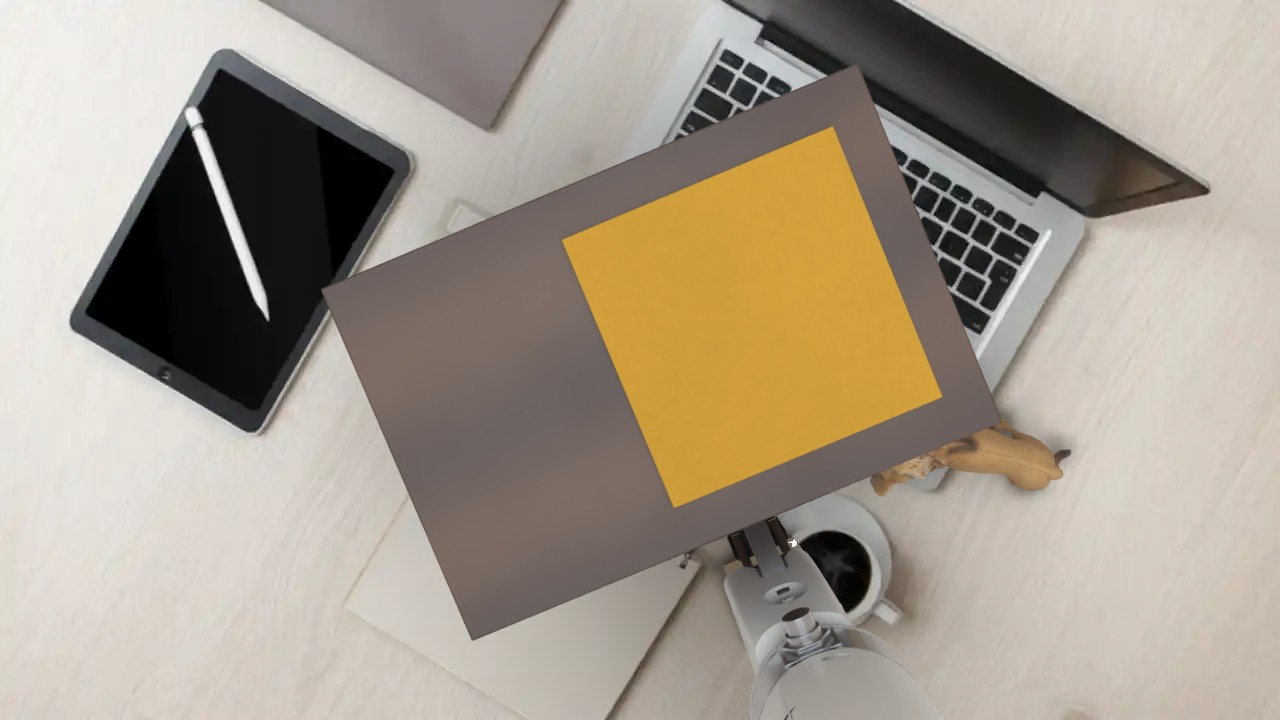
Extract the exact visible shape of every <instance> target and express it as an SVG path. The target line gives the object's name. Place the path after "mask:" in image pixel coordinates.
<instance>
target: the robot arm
mask: <svg viewBox="0 0 1280 720" xmlns="http://www.w3.org/2000/svg"><path fill="white" fill-rule="evenodd" d="M726 538H727V541H728V544H729V547H730V549H731V551H732V554H733V556H734V558H735V561H736V560H739V561H741V562H742V564H743V567H740V568H738V569H736V570H734V571H732V572H730V573H729V574H727V575H726V576H725V578H724V580H723V589H724V591H725V595H726V597H727V599H728V602H729V605H730V607H731V610H732V613H733V616H734V619H735V622H736V625H737V627H738V630H739V632H740V636H741V638H742V641H743V644H744V647H745V650H746V653H747V656H748V658H749V661H750V664H751V667H752V669H753V673H754V678H753V679H754V680H753V682H752V686H751V688H750V696H749V716H750V720H945V718H944V717H943V715H942V714H941V712H940V711H939V710H938V708H937V707H936V705H935V704H934V703H933V701H932V700H931V699H930V697H929V696H928V695H927V693H926V691H925V690H924V689H923V687H922V685H920V683H919V682H918V681H917V679H916V678H915V677H914V675H913V674H912V672H911V671H910V669H909V668H908V667H907V665H906V664H905V662H904V661H903V660H902V659H901V657H900V655H899V654H898V653H897V652H896V651H895V650H894V648H893V647H892V646H890V645H889V644H888V642H886V641H885V640H884V639H882V638H881V637H879V636H878V635H876V634H874V633H872V632H870V631H869V630H867V629H864V628H861V627H858V626H854V625H853V623H852V622H851V621H852V620H851V619H850V618H849V616H848V615H847V612H846V611H845V609H844V607H843V604H842V603H840V601H839V599H838V597H837V596H836V594H835V593H834V591H833V590H832V588H831V586H830V584H829V583H828V581H827V580H826V578H825V577H824V575H823V574H822V572H821V571H820V569H819V567H818V566H817V564H816V563H815V561H814V560H813V558H812V557H811V556H810V554H809V553H808V552H806V551H805V550H804V549H803V550H801V549H799V548H795V547H792V549H793V550H791V549H790V547H789V544H788V542H787V539H789V538H790V537H789V535H788V532H787V530H786V528H785V526H784V525H783V524H782V522H781V520H780V518H779V517H778V515H776V516H774V517H771V518H769V519H767V520H764V521H762V522H759V523H757V524H755V525H752V526H750V527H747V528H745V529H742V530H740V531H738V532H735V533H733V534H730V535H728V536H726ZM777 546H778V547H779V549H780V551H781V553H782V555H780V554H779V552H778V549H777ZM753 556H755V558H756V560H757V563H758V565H755V566H753V564H752V562H751V560H750V557H753Z"/></svg>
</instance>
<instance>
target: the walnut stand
mask: <svg viewBox="0 0 1280 720" xmlns="http://www.w3.org/2000/svg"><path fill="white" fill-rule="evenodd" d="M879 115H880V114H879V113H878V110H877V108H876V105H875V102H874V99H873V97H872V94H871V92H870V90H869V88H868V85H867V83H866V81H865V78H864V75H863V73H862V71H861V68H860V66H859V64H858V63H855V64H852V65H851V66H848V67H845V68H843V69H840V70H838V71H836V72H834V73H831V74H829V75H827V76H824V77H822V78H819V79H817V80H814V81H812V82H810V83H807V84H805V85H802V86H801V87H798V88H796V89H794V90H791V91H788V92H786V93H784V94H781V95H779V96H776V97H774V98H771V99H770V100H767V101H765V102H763V103H759V104H758V105H755V106H753V107H751V108H748V109H746V110H744V111H741V112H739V113H736V114H734V115H731V116H728V117H727V118H724V119H722V120H719V121H717V122H715V123H713V124H710V125H708V126H705V127H703V128H701V129H700V128H699V129H698V130H696V131H693V132H690V133H689V134H686V135H683V136H681V137H679V138H676V139H674V140H672V141H669V142H667V143H665V144H662V145H660V146H658V147H655V148H653V149H650V150H648V151H645V152H643V153H641V154H638V155H636V156H634V157H631V158H629V159H627V160H624V161H622V162H619V163H617V164H615V165H612V166H610V167H608V168H605V169H602V170H600V171H598V172H596V173H593V174H591V175H588V176H586V177H584V178H582V179H579V180H577V181H575V182H572V183H570V184H567V185H564V186H563V187H560V188H558V189H555V190H553V191H551V192H548V193H546V194H543V195H541V196H538V197H537V198H534V199H532V200H529V201H527V202H524V203H522V204H520V205H517V206H515V207H512V208H511V209H508V210H505V211H503V212H501V213H498V214H495V215H493V216H491V217H489V218H487V219H484V220H481V221H479V222H476V223H474V224H472V225H470V226H468V227H465V228H462V229H460V230H457V231H455V232H453V233H451V234H449V235H446V236H443V237H441V238H439V239H436V240H434V241H431V242H430V243H427V244H424V245H422V246H420V247H417V248H414V249H412V250H410V251H408V252H406V253H403V254H400V255H398V256H396V257H394V258H391V259H389V260H386V261H384V262H382V263H380V264H377V265H375V266H372V267H370V268H367V269H365V270H363V271H360V272H357V273H355V274H352V275H351V276H348V277H346V278H344V279H341V280H339V281H337V282H334V283H332V284H329V285H327V286H324V287H322V288H321V289H320V291H321V293H322V297H323V298H324V301H325V304H326V305H327V308H328V310H329V313H330V314H331V317H332V319H333V321H334V324H335V325H336V328H337V331H338V333H339V336H340V338H341V340H342V342H343V344H344V347H345V349H346V353H347V354H348V357H349V359H350V361H351V364H352V367H353V368H354V371H355V372H356V375H357V377H358V381H359V383H360V385H361V387H362V389H363V392H364V393H365V396H366V398H367V400H368V403H369V405H370V407H371V410H372V412H373V415H374V417H375V419H376V421H377V424H378V426H379V429H380V431H381V434H382V435H383V438H384V440H385V442H386V444H387V447H388V449H389V452H390V454H391V456H392V459H393V461H394V464H395V466H396V468H397V471H398V473H399V475H400V478H401V480H402V483H403V484H404V487H405V488H406V492H407V494H408V496H409V498H410V501H411V503H412V505H413V508H414V511H415V512H416V515H417V517H418V519H419V521H420V524H421V526H422V528H423V531H424V534H425V536H426V538H427V540H428V543H429V545H430V547H431V550H432V552H433V555H434V557H435V559H436V561H437V563H438V566H439V569H440V570H441V573H442V575H443V577H444V580H445V582H446V585H447V586H448V589H449V591H450V593H451V596H452V598H453V600H454V603H455V606H456V607H457V610H458V612H459V614H460V617H461V620H462V622H463V625H464V626H465V628H466V631H467V634H468V636H469V637H470V640H471V641H472V642H474V641H476V640H479V639H481V638H484V637H486V636H488V635H491V634H494V633H496V632H498V631H501V630H503V629H505V628H508V627H510V626H513V625H515V624H518V623H520V622H522V621H525V620H527V619H530V618H532V617H534V616H537V615H539V614H541V613H545V612H547V611H549V610H552V609H554V608H556V607H559V606H561V605H564V604H566V603H568V602H571V601H573V600H576V599H578V598H580V597H583V596H586V595H587V594H590V593H592V592H595V591H597V590H601V589H602V588H604V587H607V586H609V585H612V584H614V583H617V582H619V581H621V580H624V579H626V578H629V577H631V576H633V575H634V576H635V575H636V574H638V573H641V572H643V571H645V570H648V569H651V568H654V567H655V566H658V565H660V564H663V563H665V562H668V561H670V560H673V559H675V558H677V557H679V556H680V557H681V556H682V555H684V554H687V553H689V552H692V551H694V550H696V549H699V548H701V547H704V546H706V545H708V544H711V543H714V542H716V541H718V540H721V539H724V538H725V537H726V538H727V536H728V535H730V534H733V533H735V532H738V531H740V530H742V529H745V528H747V527H750V526H752V525H755V524H757V523H759V522H762V521H764V520H767V519H769V518H771V517H774V516H778V515H781V514H783V513H785V512H788V511H791V510H793V509H796V508H798V507H801V506H803V505H805V504H808V503H810V502H812V501H815V500H818V499H820V498H823V497H824V496H826V495H829V494H832V493H834V492H838V491H839V490H841V489H844V488H846V487H849V486H851V485H854V484H856V483H858V482H861V481H863V480H866V479H868V478H871V477H872V476H873V475H875V474H878V473H880V472H883V471H885V470H887V469H890V468H892V467H895V466H897V465H900V464H902V463H904V462H907V461H909V460H912V459H914V458H916V457H919V456H921V455H924V454H926V453H929V452H931V451H933V450H936V449H938V448H941V447H943V446H946V445H948V444H950V443H953V442H955V441H958V440H960V439H962V438H965V437H967V436H970V435H972V434H975V433H977V432H979V431H982V430H984V429H990V427H991V426H994V425H996V424H999V423H1001V422H1002V420H1001V418H1002V417H1001V415H1000V413H999V409H998V407H997V405H996V402H995V401H994V397H993V395H992V392H991V390H990V388H989V385H988V383H987V380H986V378H985V375H984V373H983V371H982V368H981V366H980V363H979V360H978V357H977V356H976V352H975V351H974V348H973V345H972V343H971V341H970V338H969V335H968V333H967V330H966V328H965V326H964V323H963V320H962V318H961V316H960V313H959V311H958V308H957V306H956V304H955V300H954V298H953V295H952V293H951V291H950V288H949V285H948V284H947V283H948V282H947V281H946V278H945V276H944V274H943V271H942V268H941V266H940V264H939V260H938V258H937V256H936V253H935V252H934V248H933V247H932V244H931V241H930V239H929V237H928V233H927V232H926V231H927V230H925V227H924V224H923V221H922V219H921V216H920V214H919V212H918V209H917V207H916V204H915V202H914V199H913V197H912V194H911V192H910V190H909V187H908V185H907V182H906V179H905V177H904V174H903V172H902V170H901V167H900V164H899V162H898V159H897V158H896V157H897V156H896V155H895V152H894V150H893V148H892V144H891V143H890V140H889V137H888V135H887V133H886V130H885V127H884V125H883V123H882V120H881V118H880V116H879ZM831 126H833V128H834V130H835V132H836V135H837V137H838V140H839V142H840V145H841V147H842V150H843V152H844V155H845V157H846V160H847V162H848V165H849V167H850V169H851V172H852V174H853V177H854V179H855V182H856V184H857V187H858V189H859V192H860V194H861V197H862V199H863V202H864V204H865V206H866V209H867V211H868V214H869V216H870V219H871V221H872V224H873V226H874V229H875V231H876V234H877V236H878V238H879V241H880V243H881V246H882V248H883V251H884V253H885V256H886V258H887V261H888V263H889V266H890V268H891V271H892V273H893V275H894V278H895V280H896V283H897V285H898V288H899V290H900V293H901V295H902V298H903V300H904V303H905V305H906V308H907V310H908V312H909V315H910V317H911V320H912V322H913V325H914V327H915V330H916V332H917V335H918V337H919V340H920V342H921V344H922V347H923V349H924V352H925V354H926V357H927V359H928V362H929V364H930V367H931V369H932V372H933V374H934V377H935V379H936V381H937V384H938V386H939V389H940V391H941V394H942V398H939V399H937V400H934V401H932V402H930V403H927V404H925V405H922V406H920V407H918V408H915V409H913V410H910V411H908V412H905V413H903V414H901V415H898V416H896V417H893V418H891V419H889V420H886V421H884V422H881V423H879V424H877V425H874V426H872V427H869V428H867V429H864V430H862V431H860V432H857V433H855V434H852V435H850V436H848V437H845V438H843V439H840V440H838V441H836V442H833V443H831V444H828V445H826V446H823V447H821V448H819V449H816V450H814V451H811V452H809V453H807V454H804V455H802V456H799V457H797V458H795V459H792V460H790V461H787V462H785V463H782V464H780V465H778V466H775V467H773V468H770V469H768V470H766V471H763V472H761V473H758V474H756V475H753V476H751V477H749V478H746V479H744V480H741V481H739V482H737V483H734V484H732V485H729V486H727V487H725V488H722V489H720V490H717V491H715V492H712V493H710V494H708V495H705V496H703V497H700V498H698V499H696V500H693V501H691V502H688V503H686V504H684V505H681V506H679V507H676V508H674V507H673V505H672V503H671V500H670V498H669V495H668V493H667V491H666V488H665V486H664V484H663V481H662V479H661V476H660V474H659V472H658V469H657V467H656V464H655V462H654V460H653V457H652V455H651V453H650V450H649V448H648V445H647V443H646V441H645V438H644V436H643V433H642V431H641V429H640V426H639V424H638V422H637V419H636V417H635V414H634V412H633V410H632V407H631V405H630V402H629V400H628V398H627V395H626V393H625V391H624V388H623V386H622V383H621V381H620V379H619V376H618V374H617V371H616V369H615V367H614V364H613V362H612V359H611V357H610V355H609V352H608V350H607V348H606V345H605V343H604V340H603V338H602V336H601V333H600V331H599V328H598V326H597V324H596V321H595V319H594V317H593V314H592V312H591V309H590V307H589V305H588V302H587V300H586V297H585V295H584V293H583V290H582V288H581V286H580V283H579V281H578V278H577V276H576V274H575V271H574V269H573V266H572V264H571V262H570V259H569V257H568V255H567V252H566V250H565V247H564V245H563V243H562V239H564V238H567V237H569V236H572V235H574V234H576V233H579V232H581V231H584V230H586V229H588V228H591V227H593V226H595V225H598V224H600V223H603V222H605V221H607V220H610V219H612V218H615V217H617V216H619V215H622V214H624V213H626V212H629V211H631V210H634V209H636V208H638V207H641V206H643V205H646V204H648V203H650V202H653V201H655V200H657V199H660V198H662V197H665V196H667V195H669V194H672V193H674V192H677V191H679V190H681V189H684V188H686V187H688V186H691V185H693V184H696V183H698V182H700V181H703V180H705V179H707V178H710V177H712V176H715V175H717V174H719V173H722V172H724V171H727V170H729V169H731V168H734V167H736V166H738V165H741V164H743V163H746V162H748V161H750V160H753V159H755V158H758V157H760V156H762V155H765V154H767V153H769V152H772V151H774V150H777V149H779V148H781V147H784V146H786V145H789V144H791V143H793V142H796V141H798V140H800V139H803V138H805V137H808V136H810V135H812V134H815V133H817V132H820V131H822V130H824V129H827V128H829V127H831Z"/></svg>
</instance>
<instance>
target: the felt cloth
mask: <svg viewBox="0 0 1280 720" xmlns="http://www.w3.org/2000/svg"><path fill="white" fill-rule="evenodd" d="M562 243H563V245H564V247H565V250H566V252H567V255H568V257H569V259H570V262H571V264H572V266H573V269H574V271H575V274H576V276H577V278H578V281H579V283H580V286H581V288H582V290H583V293H584V295H585V297H586V300H587V302H588V305H589V307H590V309H591V312H592V314H593V317H594V319H595V321H596V324H597V326H598V328H599V331H600V333H601V336H602V338H603V340H604V343H605V345H606V348H607V350H608V352H609V355H610V357H611V359H612V362H613V364H614V367H615V369H616V371H617V374H618V376H619V379H620V381H621V383H622V386H623V388H624V391H625V393H626V395H627V398H628V400H629V402H630V405H631V407H632V410H633V412H634V414H635V417H636V419H637V422H638V424H639V426H640V429H641V431H642V433H643V436H644V438H645V441H646V443H647V445H648V448H649V450H650V453H651V455H652V457H653V460H654V462H655V464H656V467H657V469H658V472H659V474H660V476H661V479H662V481H663V484H664V486H665V488H666V491H667V493H668V495H669V498H670V500H671V503H672V505H673V507H674V508H676V507H679V506H681V505H684V504H686V503H688V502H691V501H693V500H696V499H698V498H700V497H703V496H705V495H708V494H710V493H712V492H715V491H717V490H720V489H722V488H725V487H727V486H729V485H732V484H734V483H737V482H739V481H741V480H744V479H746V478H749V477H751V476H753V475H756V474H758V473H761V472H763V471H766V470H768V469H770V468H773V467H775V466H778V465H780V464H782V463H785V462H787V461H790V460H792V459H795V458H797V457H799V456H802V455H804V454H807V453H809V452H811V451H814V450H816V449H819V448H821V447H823V446H826V445H828V444H831V443H833V442H836V441H838V440H840V439H843V438H845V437H848V436H850V435H852V434H855V433H857V432H860V431H862V430H864V429H867V428H869V427H872V426H874V425H877V424H879V423H881V422H884V421H886V420H889V419H891V418H893V417H896V416H898V415H901V414H903V413H905V412H908V411H910V410H913V409H915V408H918V407H920V406H922V405H925V404H927V403H930V402H932V401H934V400H937V399H939V398H942V394H941V391H940V389H939V386H938V384H937V381H936V379H935V377H934V374H933V372H932V369H931V367H930V364H929V362H928V359H927V357H926V354H925V352H924V349H923V347H922V344H921V342H920V340H919V337H918V335H917V332H916V330H915V327H914V325H913V322H912V320H911V317H910V315H909V312H908V310H907V308H906V305H905V303H904V300H903V298H902V295H901V293H900V290H899V288H898V285H897V283H896V280H895V278H894V275H893V273H892V271H891V268H890V266H889V263H888V261H887V258H886V256H885V253H884V251H883V248H882V246H881V243H880V241H879V238H878V236H877V234H876V231H875V229H874V226H873V224H872V221H871V219H870V216H869V214H868V211H867V209H866V206H865V204H864V202H863V199H862V197H861V194H860V192H859V189H858V187H857V184H856V182H855V179H854V177H853V174H852V172H851V169H850V167H849V165H848V162H847V160H846V157H845V155H844V152H843V150H842V147H841V145H840V142H839V140H838V137H837V135H836V132H835V130H834V128H833V126H831V127H829V128H827V129H824V130H822V131H820V132H817V133H815V134H812V135H810V136H808V137H805V138H803V139H800V140H798V141H796V142H793V143H791V144H789V145H786V146H784V147H781V148H779V149H777V150H774V151H772V152H769V153H767V154H765V155H762V156H760V157H758V158H755V159H753V160H750V161H748V162H746V163H743V164H741V165H738V166H736V167H734V168H731V169H729V170H727V171H724V172H722V173H719V174H717V175H715V176H712V177H710V178H707V179H705V180H703V181H700V182H698V183H696V184H693V185H691V186H688V187H686V188H684V189H681V190H679V191H677V192H674V193H672V194H669V195H667V196H665V197H662V198H660V199H657V200H655V201H653V202H650V203H648V204H646V205H643V206H641V207H638V208H636V209H634V210H631V211H629V212H626V213H624V214H622V215H619V216H617V217H615V218H612V219H610V220H607V221H605V222H603V223H600V224H598V225H595V226H593V227H591V228H588V229H586V230H584V231H581V232H579V233H576V234H574V235H572V236H569V237H567V238H564V239H562Z"/></svg>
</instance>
